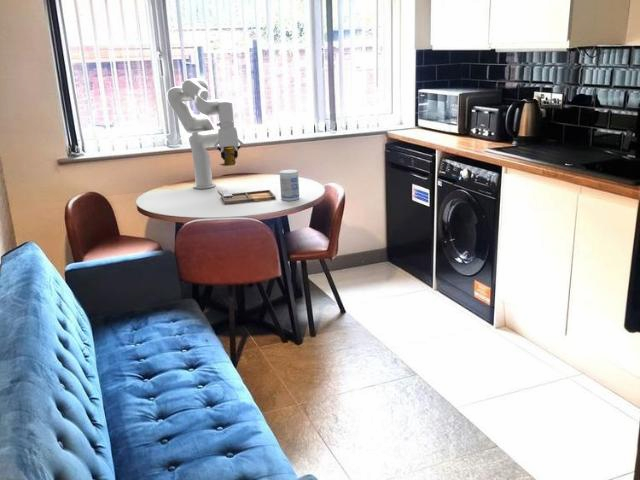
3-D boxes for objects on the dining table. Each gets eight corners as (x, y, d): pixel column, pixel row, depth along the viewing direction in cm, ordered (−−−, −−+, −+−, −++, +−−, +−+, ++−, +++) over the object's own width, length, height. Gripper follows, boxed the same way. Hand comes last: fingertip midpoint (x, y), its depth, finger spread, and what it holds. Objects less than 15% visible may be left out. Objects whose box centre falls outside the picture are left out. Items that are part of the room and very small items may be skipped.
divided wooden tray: (221, 197, 316) (221, 194, 315) (269, 192, 322) (269, 189, 322) (224, 204, 301) (224, 202, 300) (275, 199, 307) (275, 196, 307)
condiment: (238, 164, 317) (236, 142, 313) (223, 166, 312) (221, 144, 309) (232, 162, 323) (231, 140, 319) (218, 164, 318) (216, 142, 314)
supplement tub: (295, 201, 301) (294, 173, 297) (278, 201, 304) (276, 173, 299) (302, 197, 310) (300, 169, 305) (285, 196, 313) (283, 169, 308)
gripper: (210, 126, 305) (214, 161, 311) (244, 124, 309) (246, 158, 315) (209, 125, 312) (212, 158, 318) (242, 122, 316) (244, 156, 322)
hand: (229, 158), depth 316 cm, fingers closed on condiment, 6 cm apart
